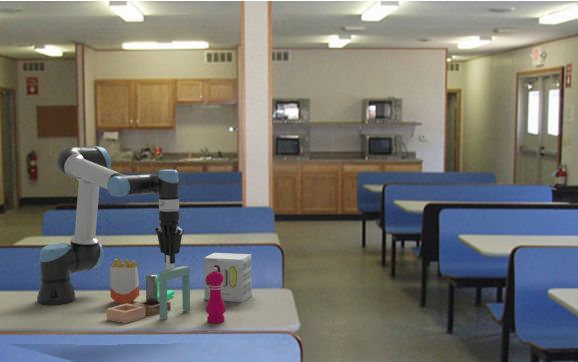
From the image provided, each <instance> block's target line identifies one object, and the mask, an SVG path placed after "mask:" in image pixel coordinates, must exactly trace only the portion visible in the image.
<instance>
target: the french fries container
mask: <svg viewBox="0 0 578 362" xmlns="http://www.w3.org/2000/svg"><path fill="white" fill-rule="evenodd" d="M124 261H125V263H124V262H122V259H121V258H120V259H118V258H114V260H113V264H111V265H110V266H109V283H110V285H109V289H110V290H109V291H110V294H109V295H110V298H111V299H112V300H113V301H114V302H115V303H116V304H126V303H127V304H131V303H133V301H135V300H136V299H137V298H138V297H139V296H140V279H139V271H138V264H136V263H137V261H136V260H132V261H129V259H125V260H124Z"/></svg>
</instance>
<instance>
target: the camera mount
mask: <svg viewBox="0 0 578 362" xmlns="http://www.w3.org/2000/svg"><path fill="white" fill-rule="evenodd" d="M156 275H157V284H158V300H159V274H156ZM174 295H175V290H171V289H169V290H168V289H167V301H169V300H171V299H172V296H174Z"/></svg>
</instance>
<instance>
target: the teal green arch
mask: <svg viewBox="0 0 578 362" xmlns="http://www.w3.org/2000/svg"><path fill="white" fill-rule="evenodd" d="M190 267H191V266H185V265H182V266H178V267H174V268H173V269H169V270H166V269H164V270H162V271H161V270H160V271H158V275H159V301H160V313H159V318H161V319H165V320H166V319H168V311H167V302H168V300H167V290H168V281H169V280H173V279H178V278H181V281H182V282H181V284H182V285H181V288H182V289H181V290H182V291H181V293H182V311H183V312H191V294H190V293H191V280H190V279H191V278H190V276H191V274H190V273H191V272H190Z"/></svg>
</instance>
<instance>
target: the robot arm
mask: <svg viewBox="0 0 578 362" xmlns="http://www.w3.org/2000/svg"><path fill="white" fill-rule="evenodd" d="M56 166H57V169H58V170H59V172H61V173H62V174H64V175H65V176H66V177H71V178H75V179H76V180H77V181H78V186H77V187H78V188H77V197H76V198H77V200H76V201H77V202H76V212H75V215H76V216H75V224H74V225H75V227H74V228H75V229H74V235H73V236H72V237H71V239H70V244H69V243H68V242H59V243H52V244H47V245H45V246H44V247H42V248H41V250H40V253H39V254H40V255H39V261H40V287H39V290H38V293H37V296H36V302H37V304H39V305H47V306H54V305H63V304H68V303H72V302H74V301H75V300H76V292H75V290H74V286H73V284H72V281H71V274H74V273H78V272H83V271H91V270H93V269H94V270H95V269H97V268H98V267H99V266H100V265H101V264H102V263H103V259H104V249H103V246H102V244H101V243H100V240H99V239H98V237H97V236H96V235H97V234H96V232H97V221H98V209H99V207H98V206H99V198H100V196H99V195H100V187H101V188H103V189H105V190H107V192H108V193H109V195H110V196H112V197H120V198H122V197H129V196H140V195H150V194H151V195H158V210H159V211H158V217H159V218H158V219H159V221H160V223H159V226H158V227H155V228H154V230H155V233H156V235H157V239H158V244H159V251H160V253H162V254H164V262H165V265H166V267H165V270H169V269H173V268H175V263H176V255H177V254H179V253H180V250H181V249H180V248H181V244H182V238H183V234H184V232H185V230H184V228H181V227H180V225H179V220H180V211H179V209H180V198H179V196H180V192H179V191H180V190H179V189H180V185H179V182H180V178H179V172H178V170H177V169H159V170H158V173H157V174H154V173H153V174H152V173H142V174H135V175H134V174H130V175H126V174H123V173H122V172H121V173H120V172H119V171H115V170H113V169H111V168H112V167H111V166H112V161H111V157H110V154H109V153H108V151H107V150H106V148H104V147H102V146H96V145H95V146H94V145H91V146H90V145H88V146H68V147H66V148H64V149H62V150H61V151H60V152H59V153H58V155H57V158H56Z"/></svg>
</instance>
